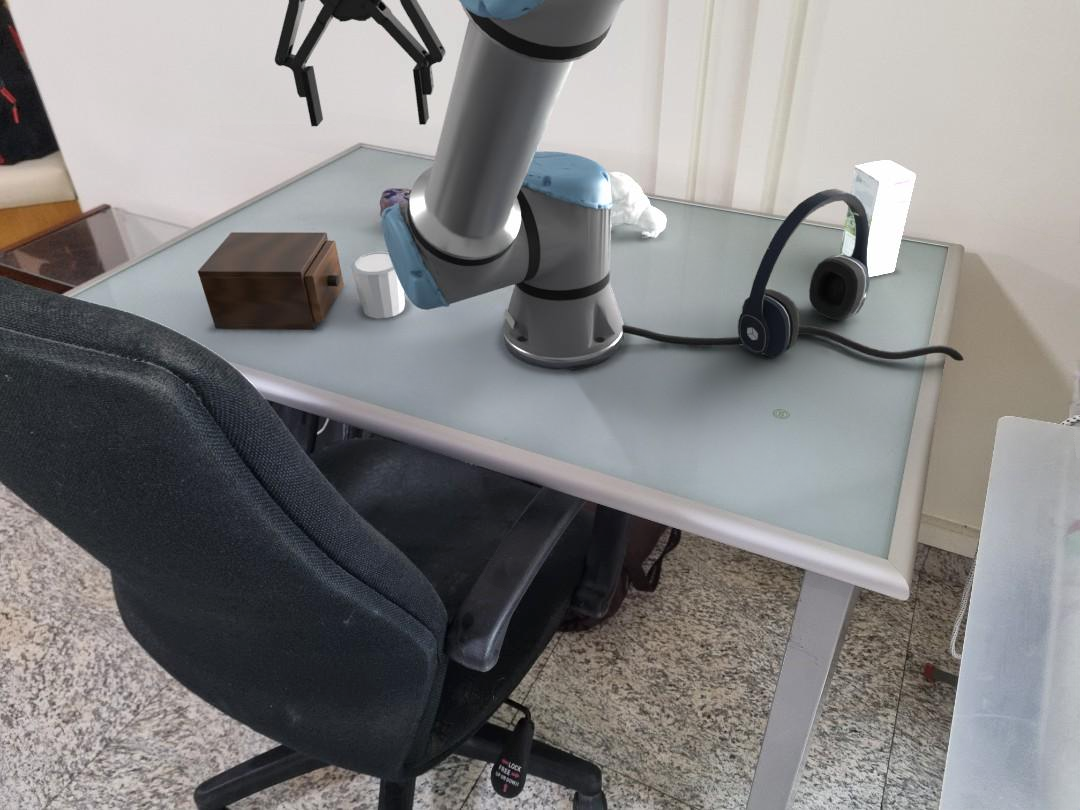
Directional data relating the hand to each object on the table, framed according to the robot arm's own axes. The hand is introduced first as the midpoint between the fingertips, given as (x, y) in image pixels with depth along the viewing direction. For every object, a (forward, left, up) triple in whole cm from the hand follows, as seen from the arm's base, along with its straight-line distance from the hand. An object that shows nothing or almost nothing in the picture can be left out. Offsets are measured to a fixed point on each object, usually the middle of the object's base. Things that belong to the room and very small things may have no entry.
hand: (370, 122), depth 105 cm
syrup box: (-66, -8, -24) cm, 71 cm away
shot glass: (+1, +5, -24) cm, 25 cm away
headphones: (-54, +10, -24) cm, 60 cm away
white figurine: (-33, -20, -24) cm, 46 cm away
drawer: (+13, +5, -23) cm, 27 cm away
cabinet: (+16, +5, -24) cm, 29 cm away
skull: (+2, -22, -24) cm, 32 cm away
